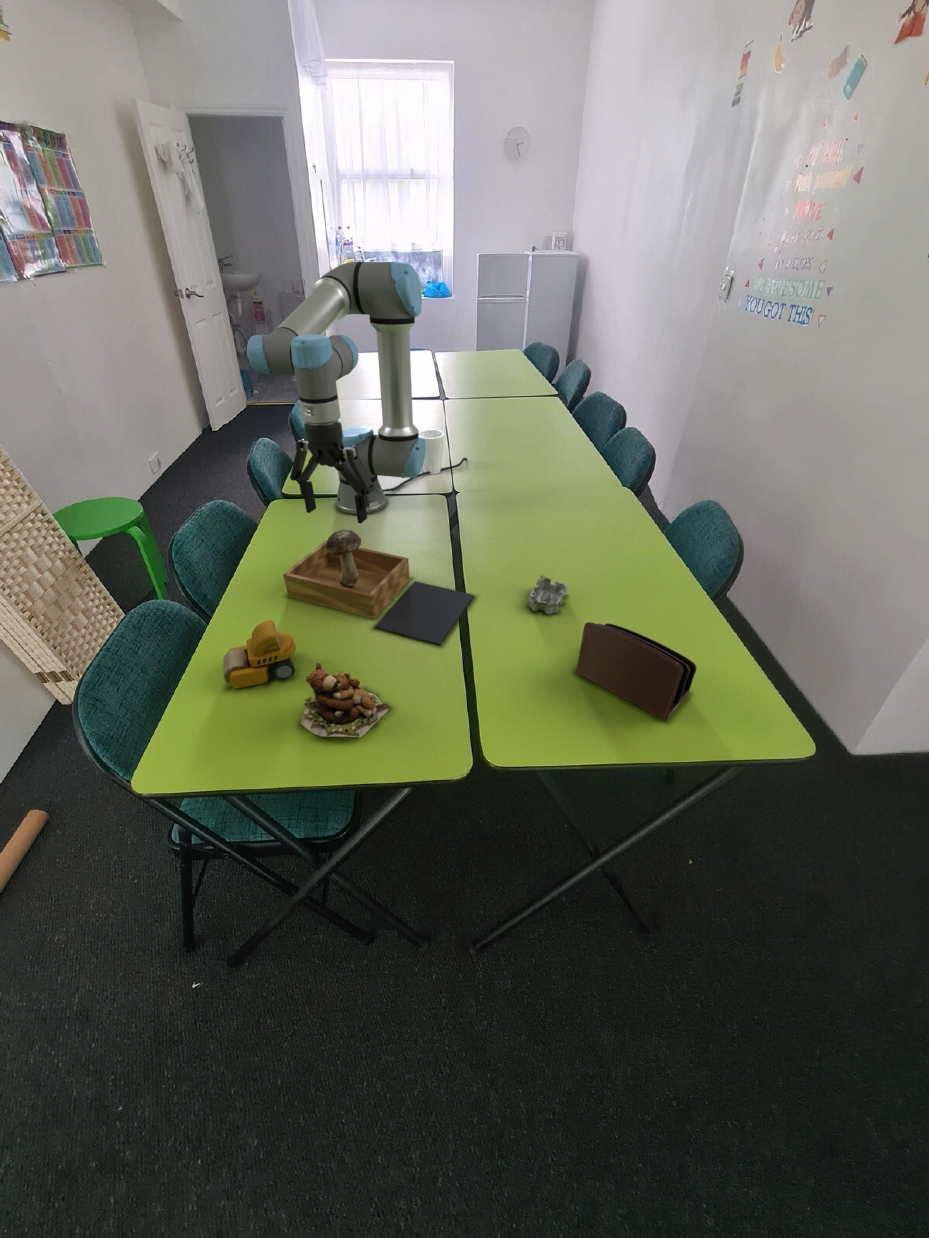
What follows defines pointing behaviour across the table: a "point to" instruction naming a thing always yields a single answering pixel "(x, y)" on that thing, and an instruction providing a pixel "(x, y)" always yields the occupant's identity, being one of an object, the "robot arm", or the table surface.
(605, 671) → the letter holder
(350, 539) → the mushroom
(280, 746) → the table surface
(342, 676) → the bear figurine
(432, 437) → the foam cup
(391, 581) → the crate
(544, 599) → the egg carton
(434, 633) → the mat
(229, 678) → the toy roller
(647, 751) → the table surface
